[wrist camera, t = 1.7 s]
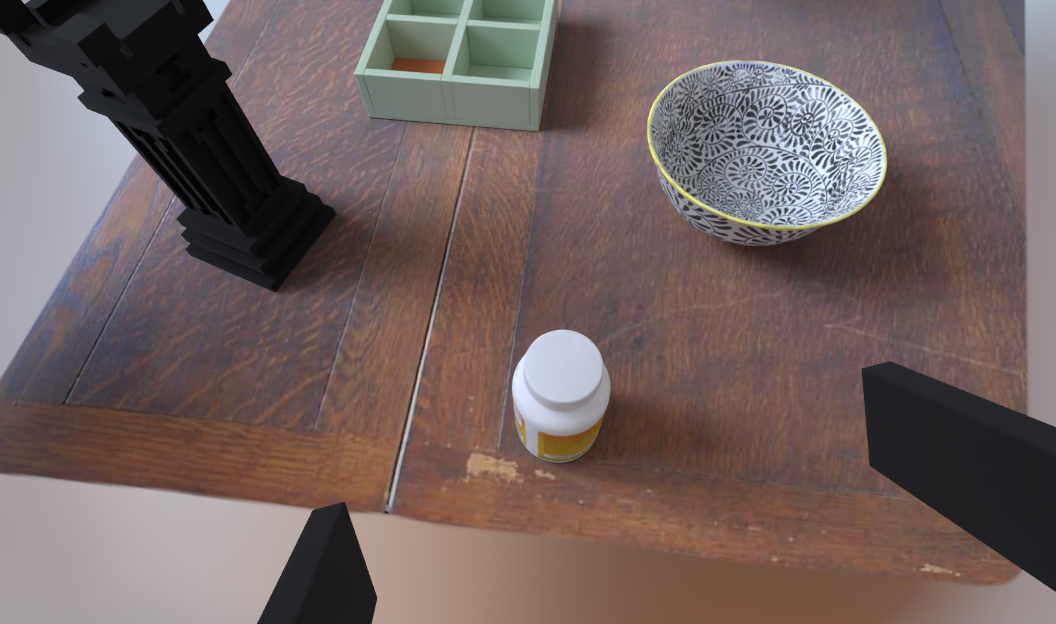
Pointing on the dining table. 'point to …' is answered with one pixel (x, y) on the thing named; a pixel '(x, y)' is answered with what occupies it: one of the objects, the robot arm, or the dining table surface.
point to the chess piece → (178, 124)
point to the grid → (459, 62)
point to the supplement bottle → (560, 395)
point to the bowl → (763, 151)
